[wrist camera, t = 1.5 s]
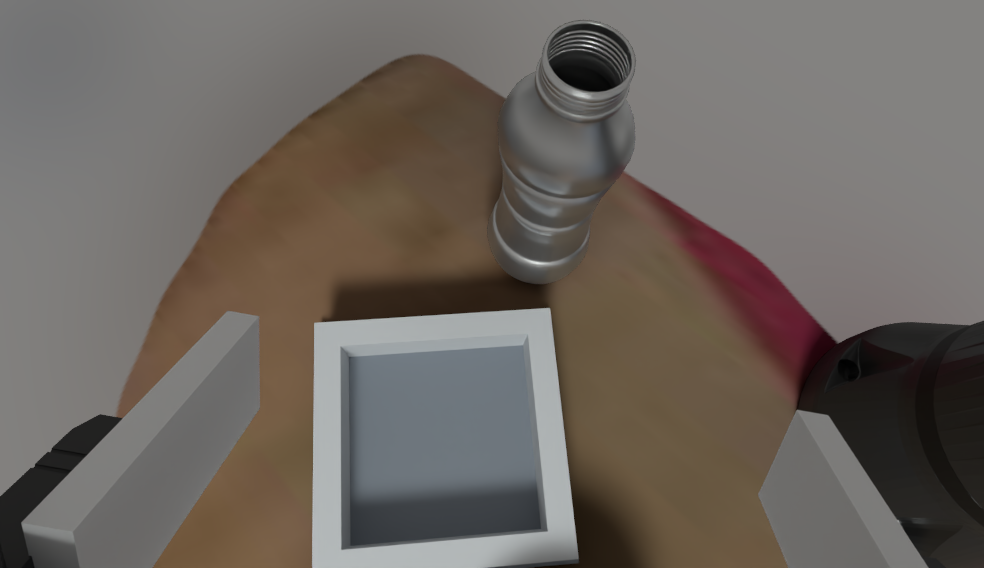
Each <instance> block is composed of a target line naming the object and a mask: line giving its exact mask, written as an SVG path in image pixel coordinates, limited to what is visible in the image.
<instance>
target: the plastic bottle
mask: <svg viewBox="0 0 984 568" xmlns="http://www.w3.org/2000/svg"><path fill="white" fill-rule="evenodd" d="M635 63H636V60H635V54H634V51H633V48H632V46H631V45H630V43H629V41H628V40H627V39H626V38H625V37H624V36H623V35H622V34H621V33H619V31H617V30H616V29H614V28H612V27H611V26H609V25H606V24H604V23H601V22H597V21H592V20H578V21H572V22H569V23H565V24H564V25H562V26H560V27H558V28H557V29H556V30H554V31H553V32H552V33H551V35H550V36H549V37H548V39H547V41H546V43H545V45H544V48H543V53H542V57H541V58H540V61H539V63H538V65H537V69H536V71H535V72H533V73H531V74H530V75H528V76H526V77H524V78H523V79H522V80H521V81H520V82H518V83H517V84H516V86H515V87H514V88H513V89H512V91H511V92H510V94H509V95H508V97H507V98H506V100H505V101H504V103H503V105H502V108H501V110H500V113H499V118H498V145H499V150H500V156H501V162H502V169H503V181H502V190H501V193H500V196H499V199H498V201H497V202H496V204H495V206H494V208H493V211H492V213H491V215H490V218H489V222H488V227H487V235H488V241H489V245H490V248H491V251H492V254H493V256H494V258H495V260H496V261H497V263H498V264H499V265H500V267H501V268H502V269H503V270H504V271H505V272H507V273H508V274H509V275H511V276H512V277H514V278H516V279H518V280H520V281H523V282H526V283H531V284H547V283H553V282H555V281H558V280H561V279H562V278H564V277H565V276H567V275H568V274H569V273H571V272H572V271H573V270H574V269H575V268H576V267H577V266H578V265H579V264H580V263H581V261H582V260H583V258H584V257H585V254H586V252H587V249H588V243H589V236H590V222H591V218H592V214H593V212H594V210H595V208H596V206H597V205H598V203H599V201H600V200H601V198H602V197H603V195H604V194H605V193H606V192H607V191H608V190H609V188H610V187H611V186H612V185H613V184H614V183H615V181H616V180H617V179H618V178H619V177H620V175H621V174H622V172H623V170H624V169H625V167H626V166H627V164H628V163H629V161H630V159H631V156H632V154H633V151H634V145H635V125H634V117H633V114H632V111H631V108H630V105H629V104H628V102H627V100H626V97H627V95H628V92H629V86H630V82H631V80H632V77H633V75H634V72H635Z"/></svg>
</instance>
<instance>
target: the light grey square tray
mask: <svg viewBox="0 0 984 568" xmlns="http://www.w3.org/2000/svg"><path fill="white" fill-rule="evenodd" d="M573 563H579V557H578V548H577V539H576V531H575V522H574V513H573V504H572V496H571V487H570V478H569V469H568V461H567V452H566V443H565V434H564V426H563V417H562V408H561V399H560V391H559V382H558V373H557V364H556V356H555V347H554V338H553V330H552V321H551V312H550V308H541V309H525V310H509V311H493V312H477V313H462V314H446V315H430V316H414V317H399V318H383V319H367V320H351V321H336V322H320V323H314V427H313V532H312V568H530V567H541V566H552V565H562V564H573Z"/></svg>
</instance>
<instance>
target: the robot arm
mask: <svg viewBox="0 0 984 568" xmlns="http://www.w3.org/2000/svg"><path fill="white" fill-rule="evenodd" d="M259 409H260V377H259V316H254V315H249V314H243V313H237V312H231V311H227V312H226V313H225V314H224V315H223V316H222V317H221V318H220V319H219V320H218V321H217V322H216V323H215V324H214V325H213V326H212V327H211V328H210V330H209V331H208V332H207V333H206V334H205V335H204V336H203V337H202V338H201V339H200V340H199V341H198V342H197V343H196V344H195V345H194V346H193V347H192V348H191V349H190V350H189V351H188V352H187V353H186V354H185V355H184V356H183V357H182V358H181V359H180V360H179V361H178V362H177V363H176V364H175V365H174V366H173V367H172V369H171V370H170V371H169V372H168V373H167V374H166V375H165V376H164V377H163V378H162V379H161V380H160V381H159V382H158V383H157V384H156V385H155V386H154V387H153V388H152V389H151V390H150V391H149V392H148V393H147V394H146V395H145V396H144V397H143V398H142V399H141V400H140V401H139V402H138V403H137V404H136V405H135V406H134V407H133V409H132V410H131V411H130V412H129V413H128V414H127V415H126V416H125V417H124V418H118V417H112V416H106V415H98V416H96V417H94V418H92V419H90V420H89V421H87V422H85V423H83V424H81V425H79V426H77V427H75V428H73V429H72V430H71V431H70V432H69V433H68V434H66V435H65V436H64V437H63V438H62V439H61V440H60V441H59V442H58V443H57V444H56V445H55V446H54V447H53V448H52V450H51V452H47V453H46V454H45V455H44V456H43V457H42V458H41V459H40V460H39V461H38V462H37V463H36V464H35V467H34V468H30V469H29V470H28V471H27V472H26V473H25V474H24V475H23V476H22V477H21V478H20V479H19V480H17V482H16V483H14V484H13V485H12V486H11V487H10V488H9V489H8V490H7V491H6V492H5V493H4V494H3V495H1V496H0V568H152V567H153V566H154V564H155V563H156V561H157V560H158V558H159V557H160V555H161V554H162V552H163V551H164V549H165V548H166V546H167V545H168V543H169V542H170V540H171V539H172V538H173V536H174V535H175V533H176V532H177V530H178V529H179V527H180V526H181V524H182V523H183V521H184V520H185V518H186V517H187V515H188V514H189V512H190V511H191V509H192V508H193V506H194V505H195V503H196V502H197V500H198V499H199V498H200V496H201V495H202V493H203V492H204V490H205V489H206V487H207V486H208V484H209V483H210V481H211V480H212V478H213V477H214V475H215V474H216V472H217V471H218V469H219V468H220V466H221V465H222V463H223V462H224V460H225V459H226V458H227V456H228V455H229V453H230V452H231V450H232V449H233V447H234V446H235V444H236V443H237V441H238V440H239V438H240V437H241V435H242V434H243V432H244V431H245V429H246V428H247V426H248V425H249V423H250V422H251V420H252V419H253V417H254V416H255V415H256V413H257V412H258V410H259ZM758 496H759V498H760V501H761V503H762V505H763V508H764V510H765V512H766V515H767V517H768V520H769V522H770V524H771V527H772V529H773V532H774V534H775V536H776V539H777V541H778V544H779V546H780V548H781V551H782V553H783V556H784V558H785V560H786V563H787V565H788V568H984V321H982V322H979V323H976V324H973V325H970V326H969V325H952V324H932V323H915V322H907V323H894V324H889V325H884V326H880V327H876V328H873V329H870V330H868V331H865V332H862V333H860V334H858V335H855V336H853V337H850V338H848V339H846V340H844V341H842V342H841V343H839V344H837V345H836V346H834V347H833V348H832V349H830V350H829V351H828V352H827V353H826V354H825V355H824V356H823V357H822V358H821V359H820V360H819V361H818V363H817V364H816V365H815V367H814V368H813V369H812V371H811V373H810V374H809V376H808V378H807V380H806V383H805V385H804V388H803V390H802V393H801V397H800V401H799V407H798V410H796V413H795V415H794V417H793V419H792V421H791V424H790V426H789V428H788V430H787V433H786V435H785V437H784V439H783V441H782V444H781V446H780V448H779V450H778V452H777V455H776V457H775V459H774V461H773V463H772V466H771V468H770V470H769V472H768V474H767V477H766V479H765V481H764V483H763V485H762V488H761V490H760V492H759V494H758Z"/></svg>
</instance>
